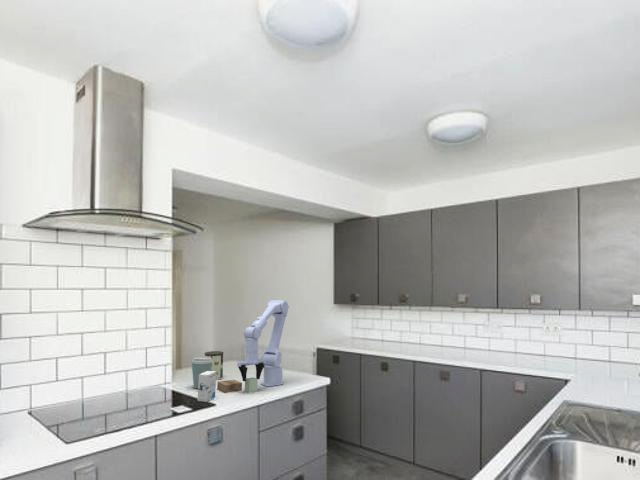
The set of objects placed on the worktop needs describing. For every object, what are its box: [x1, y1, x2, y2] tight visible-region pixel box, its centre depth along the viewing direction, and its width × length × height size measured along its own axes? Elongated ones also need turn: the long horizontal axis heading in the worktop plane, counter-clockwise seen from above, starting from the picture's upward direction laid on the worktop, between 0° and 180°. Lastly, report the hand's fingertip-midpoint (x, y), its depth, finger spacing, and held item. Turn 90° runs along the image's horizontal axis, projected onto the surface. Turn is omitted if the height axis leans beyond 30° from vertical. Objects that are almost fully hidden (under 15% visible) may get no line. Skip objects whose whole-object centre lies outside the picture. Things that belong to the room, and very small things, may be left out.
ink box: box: [197, 371, 217, 403], centre depth 194 cm, size 9×5×12 cm, turn 168°
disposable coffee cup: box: [190, 356, 213, 390], centre depth 216 cm, size 11×11×15 cm
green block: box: [244, 377, 259, 394], centre depth 208 cm, size 4×4×6 cm
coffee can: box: [204, 350, 224, 381], centre depth 237 cm, size 10×10×14 cm
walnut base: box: [216, 379, 243, 394], centre depth 211 cm, size 9×9×4 cm
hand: (251, 380), depth 209 cm, fingers open, 7 cm apart
